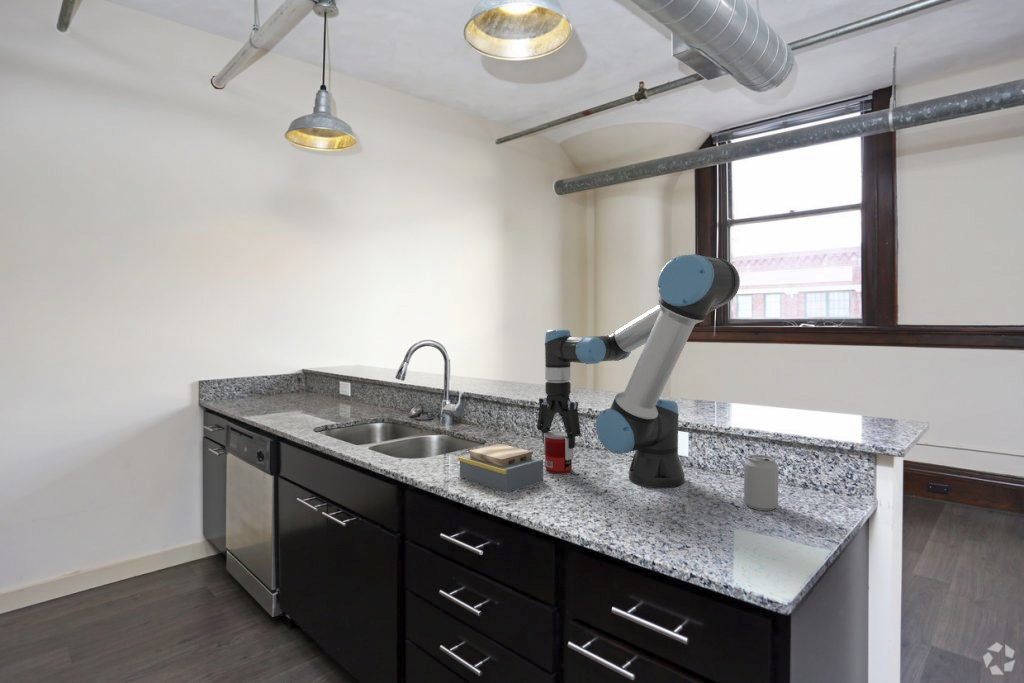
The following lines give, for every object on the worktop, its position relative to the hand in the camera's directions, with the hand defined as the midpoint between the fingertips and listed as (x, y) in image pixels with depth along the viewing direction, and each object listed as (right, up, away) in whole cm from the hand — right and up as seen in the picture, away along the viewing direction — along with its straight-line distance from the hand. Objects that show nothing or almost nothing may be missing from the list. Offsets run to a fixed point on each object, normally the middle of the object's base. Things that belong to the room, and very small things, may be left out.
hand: (558, 456), depth 160 cm
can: (+46, -5, -32) cm, 56 cm away
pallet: (-17, +1, -8) cm, 19 cm away
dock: (-17, -5, -8) cm, 19 cm away
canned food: (0, -4, 0) cm, 4 cm away
